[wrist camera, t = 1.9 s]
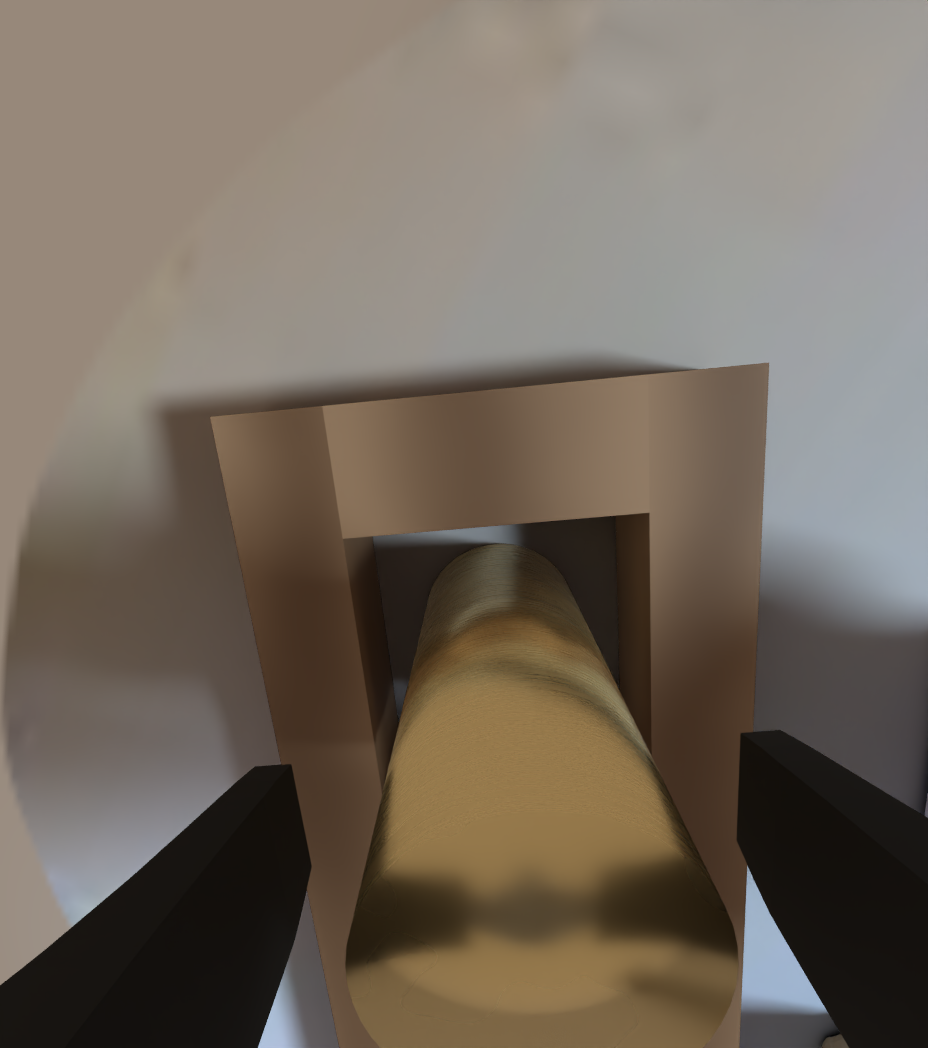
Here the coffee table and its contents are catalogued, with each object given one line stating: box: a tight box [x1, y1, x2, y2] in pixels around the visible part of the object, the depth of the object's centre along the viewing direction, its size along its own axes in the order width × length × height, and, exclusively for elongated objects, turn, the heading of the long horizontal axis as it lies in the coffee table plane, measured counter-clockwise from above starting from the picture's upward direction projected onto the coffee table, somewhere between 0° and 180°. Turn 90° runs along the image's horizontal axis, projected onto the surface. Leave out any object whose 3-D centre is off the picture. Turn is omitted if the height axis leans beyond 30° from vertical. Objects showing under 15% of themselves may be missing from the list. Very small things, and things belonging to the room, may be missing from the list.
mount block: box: [210, 363, 769, 1048], centre depth 16 cm, size 12×26×3 cm, turn 5°
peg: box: [345, 544, 739, 1048], centre depth 11 cm, size 4×4×10 cm
